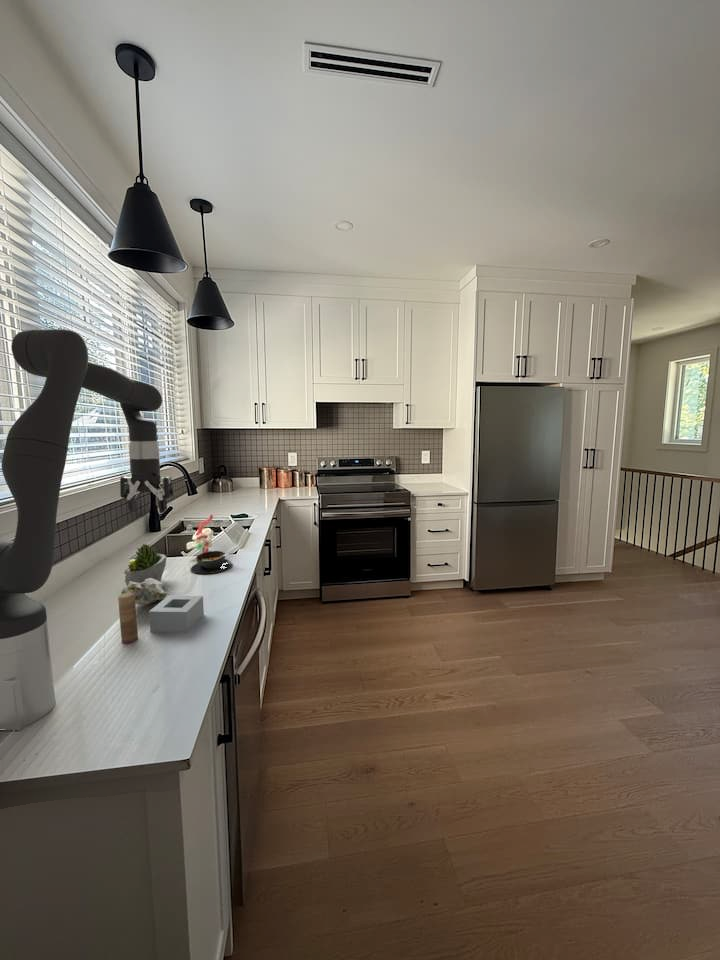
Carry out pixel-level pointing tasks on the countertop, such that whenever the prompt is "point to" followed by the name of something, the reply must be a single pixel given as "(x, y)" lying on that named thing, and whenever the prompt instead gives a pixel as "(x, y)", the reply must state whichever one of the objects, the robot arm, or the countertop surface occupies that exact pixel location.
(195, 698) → the countertop surface
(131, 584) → the rock
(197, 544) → the anatomical model
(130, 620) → the peg
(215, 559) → the soup bowl
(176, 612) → the socket
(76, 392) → the robot arm
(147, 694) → the countertop surface
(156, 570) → the potted plant
